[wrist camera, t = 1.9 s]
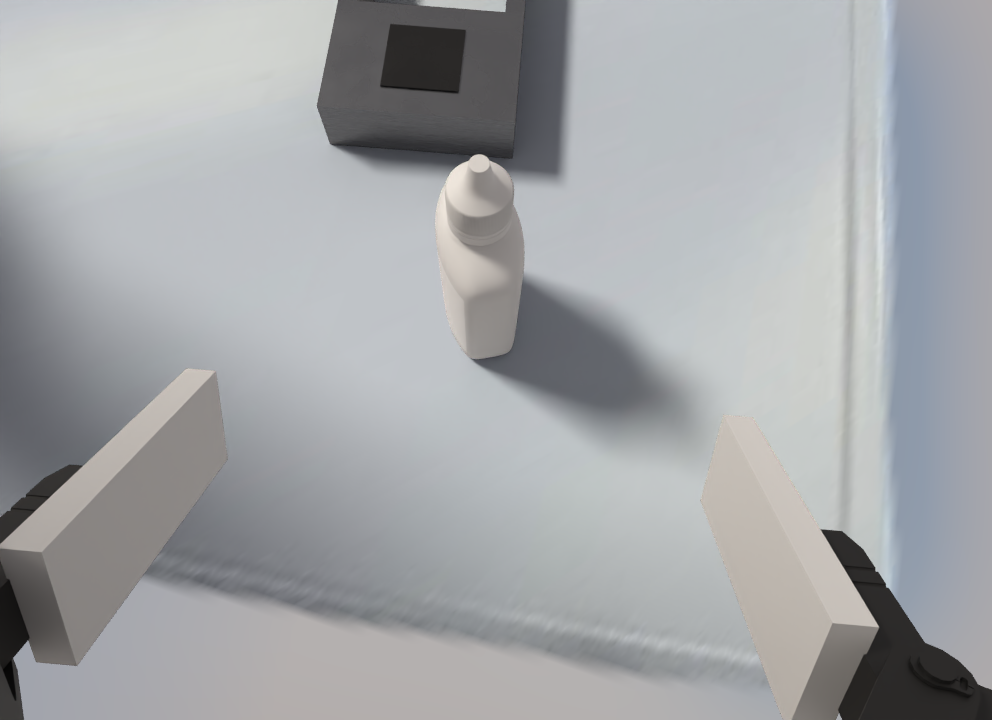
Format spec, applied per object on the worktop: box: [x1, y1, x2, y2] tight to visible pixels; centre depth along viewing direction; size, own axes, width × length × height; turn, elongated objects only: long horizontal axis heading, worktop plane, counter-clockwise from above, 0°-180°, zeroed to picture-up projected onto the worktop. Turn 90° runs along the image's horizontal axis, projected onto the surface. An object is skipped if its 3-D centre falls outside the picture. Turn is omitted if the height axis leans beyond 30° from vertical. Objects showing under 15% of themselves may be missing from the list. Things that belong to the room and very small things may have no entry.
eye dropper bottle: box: [435, 154, 525, 359], centre depth 27 cm, size 4×6×12 cm
